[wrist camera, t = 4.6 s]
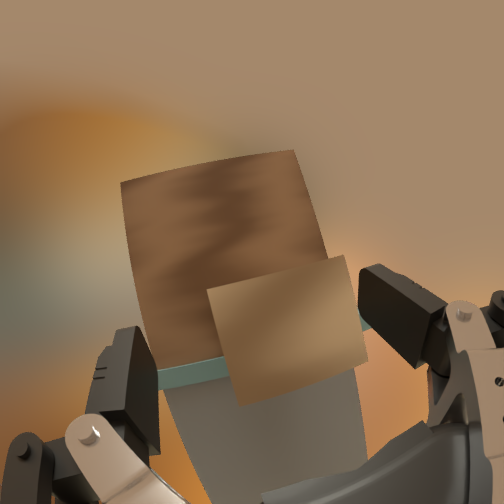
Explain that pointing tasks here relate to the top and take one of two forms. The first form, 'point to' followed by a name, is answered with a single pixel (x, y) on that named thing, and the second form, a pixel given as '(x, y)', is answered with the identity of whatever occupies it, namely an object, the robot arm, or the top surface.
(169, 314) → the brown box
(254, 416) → the stand
